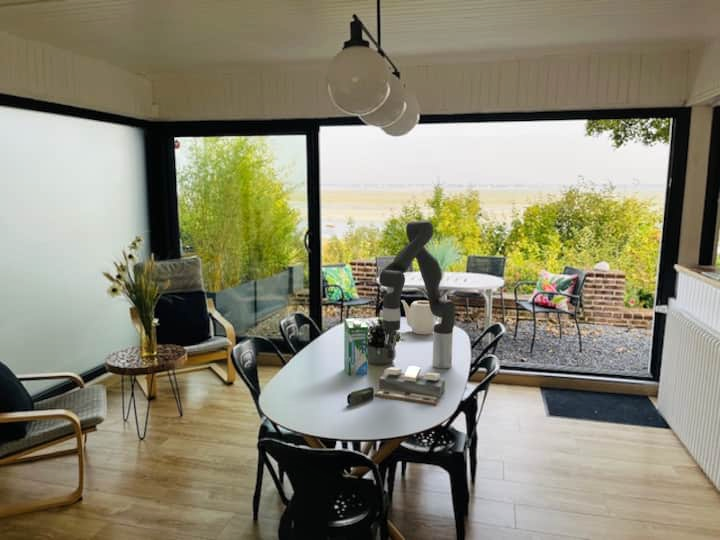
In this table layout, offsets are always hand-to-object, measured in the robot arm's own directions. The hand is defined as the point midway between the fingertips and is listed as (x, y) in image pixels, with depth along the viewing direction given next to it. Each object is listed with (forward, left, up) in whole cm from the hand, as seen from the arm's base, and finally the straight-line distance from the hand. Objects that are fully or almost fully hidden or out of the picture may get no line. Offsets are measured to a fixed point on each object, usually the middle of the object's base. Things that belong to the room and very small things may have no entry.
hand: (390, 358), depth 215 cm
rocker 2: (-4, +9, -9) cm, 13 cm away
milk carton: (-17, -22, -15) cm, 32 cm away
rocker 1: (-4, 0, -9) cm, 9 cm away
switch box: (-1, +9, -15) cm, 17 cm away
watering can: (-96, -11, -15) cm, 98 cm away
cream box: (-4, +17, -9) cm, 19 cm away
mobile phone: (+15, -8, -15) cm, 23 cm away
